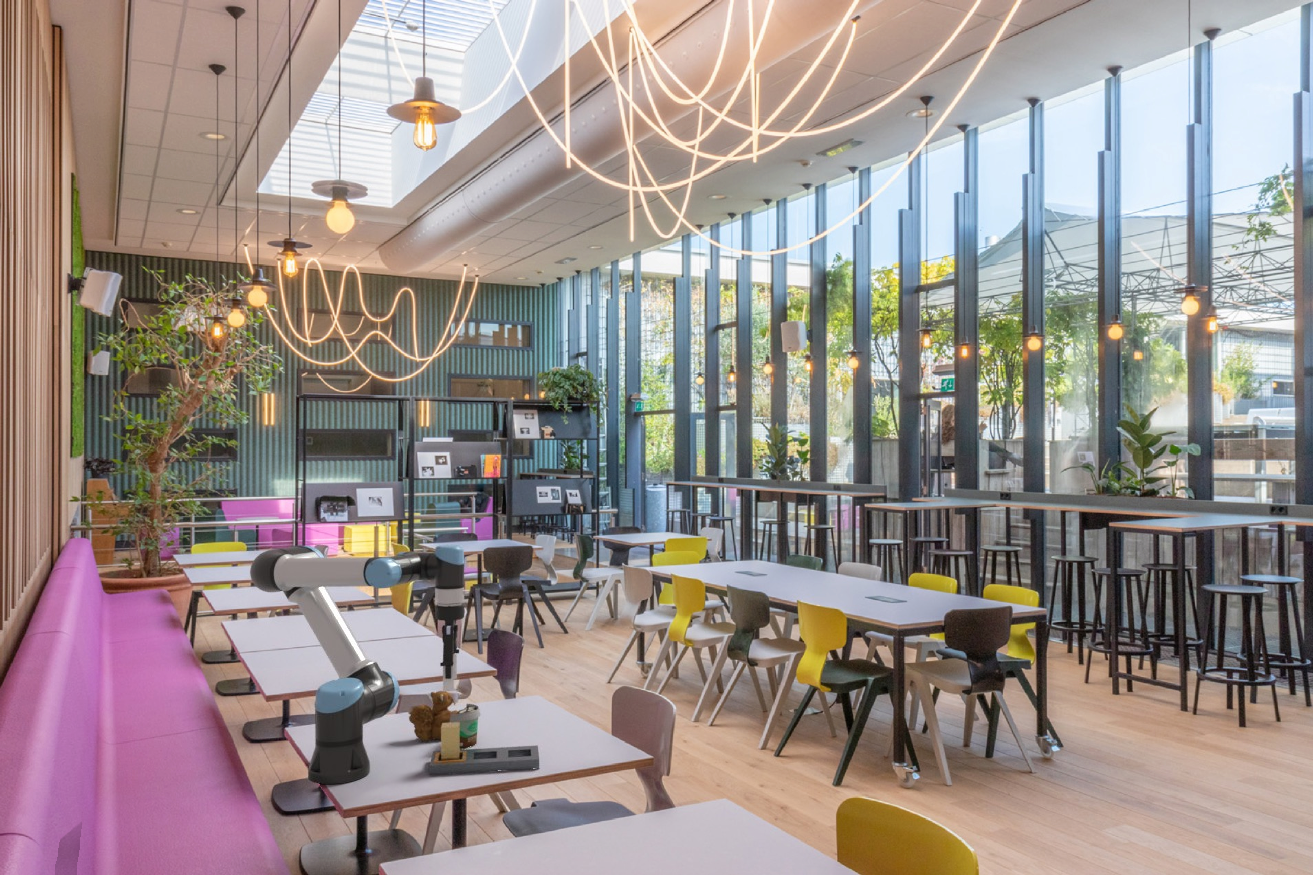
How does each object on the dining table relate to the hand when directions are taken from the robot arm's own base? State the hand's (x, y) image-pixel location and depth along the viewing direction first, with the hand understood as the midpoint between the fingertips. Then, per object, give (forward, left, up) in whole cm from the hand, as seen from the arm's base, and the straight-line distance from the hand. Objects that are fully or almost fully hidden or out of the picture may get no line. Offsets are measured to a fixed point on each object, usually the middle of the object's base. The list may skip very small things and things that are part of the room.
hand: (450, 684), depth 247 cm
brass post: (0, 0, -22) cm, 22 cm away
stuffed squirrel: (-6, +27, -22) cm, 36 cm away
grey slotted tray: (+9, 0, -22) cm, 23 cm away
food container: (+4, +19, -22) cm, 29 cm away
